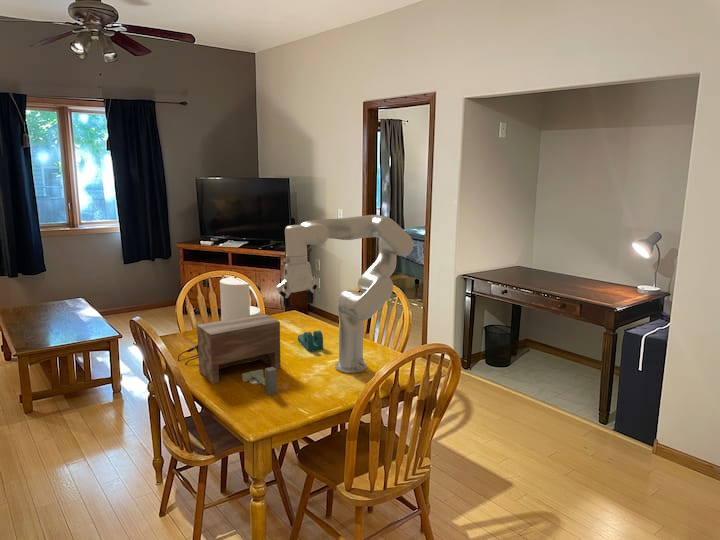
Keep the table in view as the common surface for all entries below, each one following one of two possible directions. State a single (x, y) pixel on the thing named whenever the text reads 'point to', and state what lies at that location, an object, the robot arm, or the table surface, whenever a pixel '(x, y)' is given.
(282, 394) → the table surface
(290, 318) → the table surface
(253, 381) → the token
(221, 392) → the table surface
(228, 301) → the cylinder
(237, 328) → the cabinet
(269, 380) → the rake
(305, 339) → the bracket
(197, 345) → the sunglasses
